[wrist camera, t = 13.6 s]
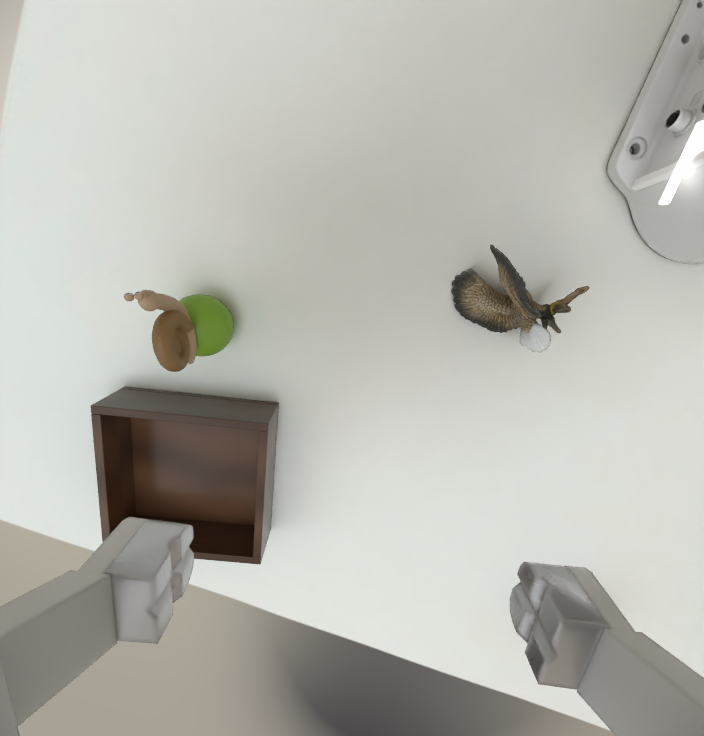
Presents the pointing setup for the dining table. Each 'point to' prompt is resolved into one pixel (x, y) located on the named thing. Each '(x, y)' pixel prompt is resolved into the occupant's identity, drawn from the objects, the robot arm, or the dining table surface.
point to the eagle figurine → (508, 305)
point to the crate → (189, 467)
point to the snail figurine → (186, 327)
